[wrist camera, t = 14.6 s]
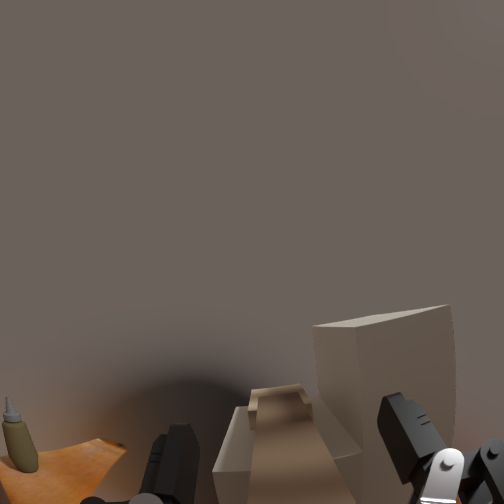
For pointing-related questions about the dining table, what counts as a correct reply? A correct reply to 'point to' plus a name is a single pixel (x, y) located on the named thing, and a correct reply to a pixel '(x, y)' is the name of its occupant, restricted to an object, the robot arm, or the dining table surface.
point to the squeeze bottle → (19, 440)
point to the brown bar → (290, 452)
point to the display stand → (362, 399)
